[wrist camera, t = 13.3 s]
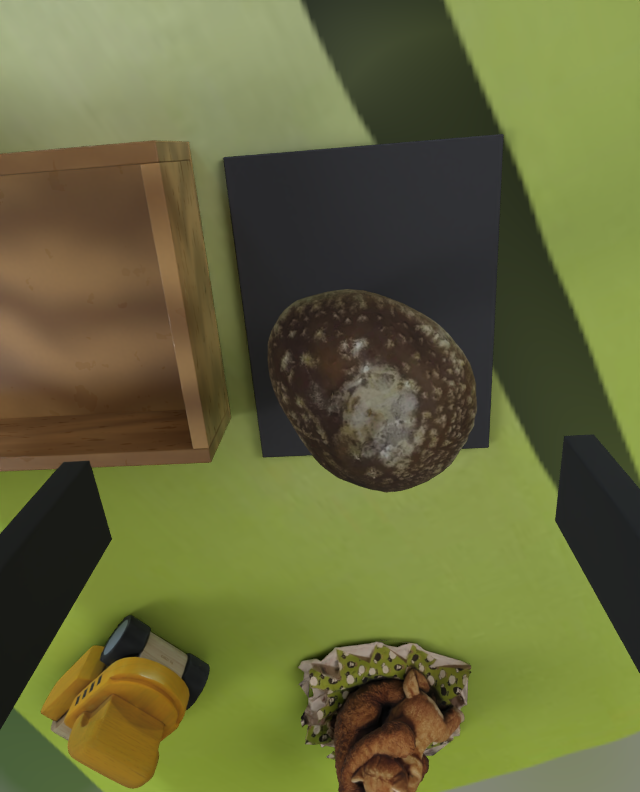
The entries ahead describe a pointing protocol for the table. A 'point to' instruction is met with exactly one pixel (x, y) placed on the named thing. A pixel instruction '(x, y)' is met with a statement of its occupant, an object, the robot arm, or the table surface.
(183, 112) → the table surface
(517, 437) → the table surface
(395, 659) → the bear figurine
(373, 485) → the mushroom
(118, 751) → the toy roller
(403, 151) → the mat
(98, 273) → the crate
